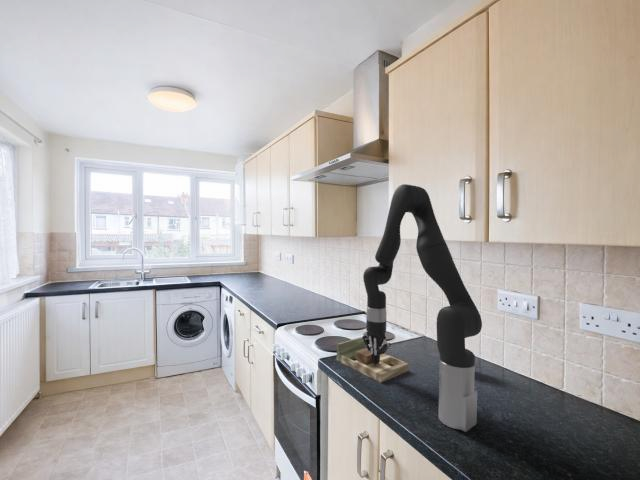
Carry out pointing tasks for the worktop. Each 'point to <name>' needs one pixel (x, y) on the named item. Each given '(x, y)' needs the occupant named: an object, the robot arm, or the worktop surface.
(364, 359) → the walnut block
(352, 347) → the tray
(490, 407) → the worktop surface
